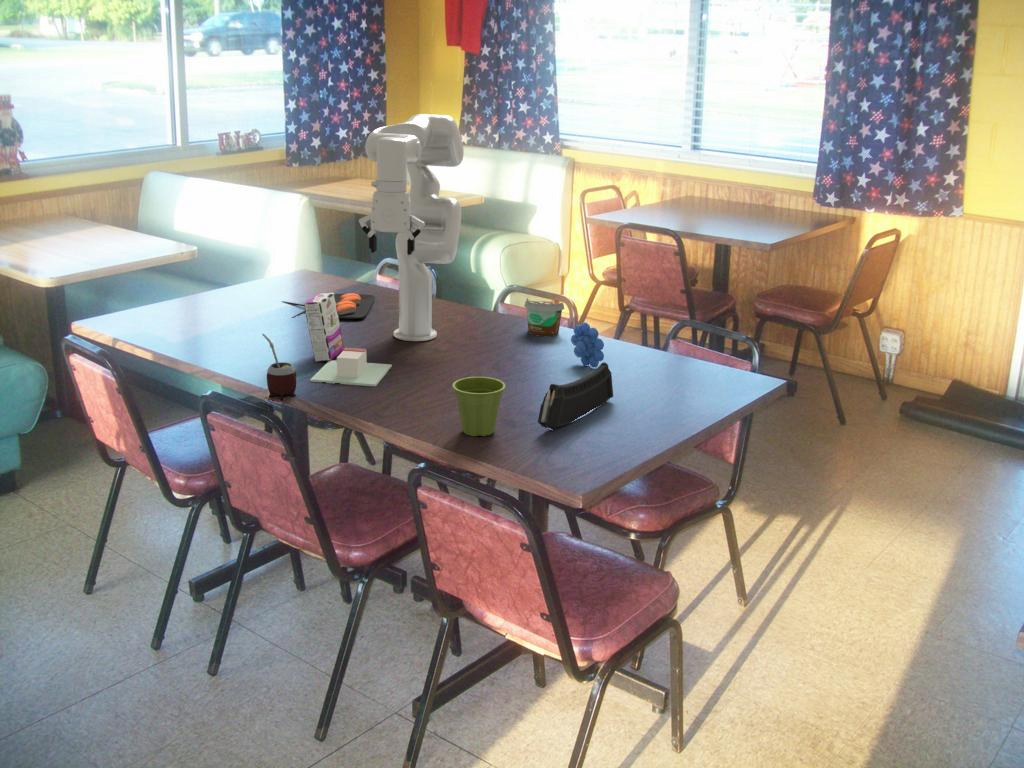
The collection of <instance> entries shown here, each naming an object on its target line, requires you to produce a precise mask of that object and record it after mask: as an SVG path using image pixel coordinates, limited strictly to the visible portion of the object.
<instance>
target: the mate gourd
mask: <svg viewBox="0 0 1024 768" xmlns="http://www.w3.org/2000/svg"><path fill="white" fill-rule="evenodd" d="M261 335H262V336H263V337H264V339H266V341H267V342H268V343H269V347H270V349H271V351H272V355H273V357H274V361H275V362H274V363H271V364H270V365H269V366H268V369H267V373H266V385H267V389H268V393H269V395H268V397H269V398H270V399H272V398H279V400H280V402H284V399H285V398H295V397H296V394H295V392H296V388H297V371H296V368H295V367H294V366H293V365H292V364H291V363H289V362H285V361H284V362H283V361H282V362H279V359H278V357H277V354H276V351H275V346H274V344H273V343H272V341H271V339H270V338H269V337H268V336H267V335H266V334H265V333H262V334H261Z"/></svg>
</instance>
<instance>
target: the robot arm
mask: <svg viewBox="0 0 1024 768" xmlns="http://www.w3.org/2000/svg"><path fill="white" fill-rule="evenodd" d="M461 137H462V136H461V133H460V130H459V127H458V124H457V122H456V120H455V119H454V118H453V117H452V116H450V115H447V114H432V113H431V114H429V113H416V114H414V115H412V116H410V117H409V118H408V119H407V120H406V121H404V122H399V123H396V124H395V123H394V124H391V125H386V126H381V127H378V128H376V129H374V130H372V131H371V133H369V135H368V137H367V138H366V142H365V154H366V156H367V159H369V160H370V161H371V162H373V163H376V180H372V181H371V186H370V187H373V188H375V190H376V191H374V192H373V194H372V199H371V200H372V201H371V209H370V210H371V211H370V214H368V215H365V216H364V217H361V218H359V219H358V222H359V225H360V227H361V229H362V231H363V232H364V233H365V234H366V235H367V237H368V248H369V249H370V252H371V254H374V253H375V252H376V251H377V250H378V249H377V248H378V246H377V245H378V243H377V242H378V241H377V239H378V238H377V236H376V233H377V232H382V233H397V235H396V238H395V250H396V257H397V264H398V266H397V267H398V328H396V329H395V330H394V331H393V337H395V338H396V339H398V340H402V341H406V342H426V341H431V340H433V339H435V338H436V337H437V335H438V333H437V330H435V329H433V328H432V327H433V326H432V307H433V306H432V305H433V296H432V295H433V277H432V274H431V272H430V270H429V268H428V267H427V266H426V264H427V263H428V264H439V265H441V264H442V265H443V264H444V265H448V264H451V263H453V262H454V260H455V258H456V256H457V252H458V245H459V238H460V231H461V226H462V224H461V223H462V207H461V203H460V202H459V200H458V199H456V198H454V197H449V196H446V197H445V196H439V195H440V189H441V184H440V182H439V180H438V178H437V177H436V175H435V174H434V173H433V172H432V171H431V170H430V168H429V167H428V166H431V167H447V168H448V167H450V168H452V167H453V168H455V167H458V166H460V165H461V163H462V162H463V160H464V159H463V158H464V156H465V155H464V154H465V151H464V145H463V141H462V138H461ZM407 172H408V173H407ZM407 174H408V175H409V178H410V189H409V191H407ZM368 221H370V227H369V225H367V222H368Z"/></svg>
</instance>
